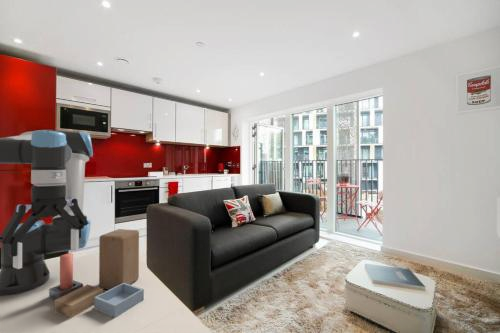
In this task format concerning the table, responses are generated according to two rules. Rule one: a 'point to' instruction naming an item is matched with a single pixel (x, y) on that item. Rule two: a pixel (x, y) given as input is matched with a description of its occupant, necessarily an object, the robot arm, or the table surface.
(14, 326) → the table surface
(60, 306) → the cardboard box
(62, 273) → the dowel
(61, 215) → the robot arm
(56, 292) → the socket
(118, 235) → the wooden block
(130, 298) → the tray
